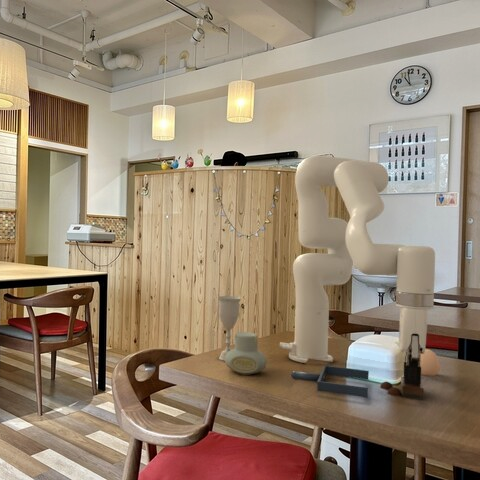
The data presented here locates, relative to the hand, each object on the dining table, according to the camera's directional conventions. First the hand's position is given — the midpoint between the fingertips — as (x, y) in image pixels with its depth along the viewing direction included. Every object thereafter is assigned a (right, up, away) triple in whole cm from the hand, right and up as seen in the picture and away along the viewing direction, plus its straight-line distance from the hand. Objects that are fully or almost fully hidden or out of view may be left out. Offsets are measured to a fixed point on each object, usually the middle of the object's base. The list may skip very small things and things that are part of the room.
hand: (411, 381), depth 109 cm
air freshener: (-34, -3, +19) cm, 39 cm away
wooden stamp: (0, -4, 0) cm, 4 cm away
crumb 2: (-4, -3, -1) cm, 5 cm away
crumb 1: (-4, -3, +4) cm, 6 cm away
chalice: (-37, -3, +33) cm, 49 cm away
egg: (+13, -5, +18) cm, 23 cm away
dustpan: (-16, -4, +7) cm, 18 cm away
